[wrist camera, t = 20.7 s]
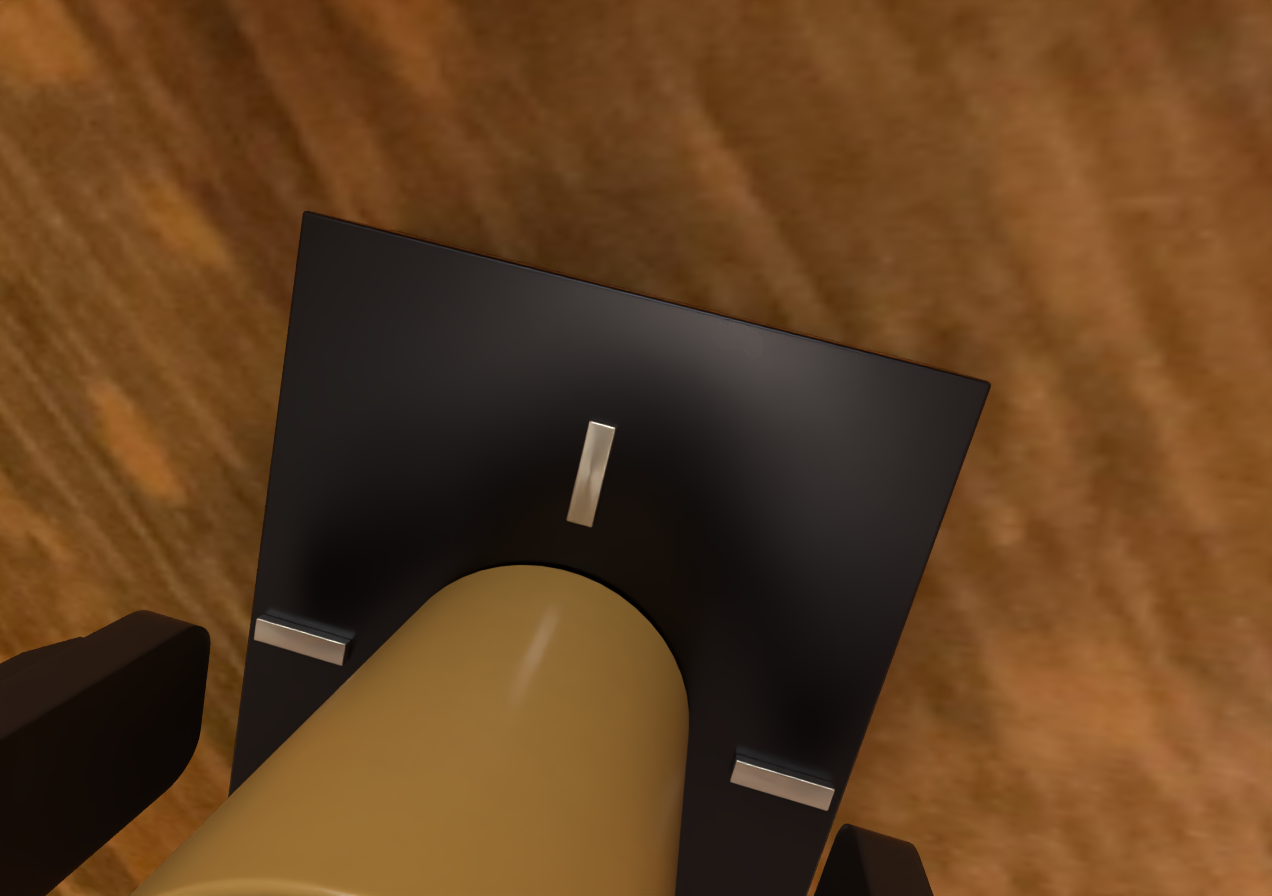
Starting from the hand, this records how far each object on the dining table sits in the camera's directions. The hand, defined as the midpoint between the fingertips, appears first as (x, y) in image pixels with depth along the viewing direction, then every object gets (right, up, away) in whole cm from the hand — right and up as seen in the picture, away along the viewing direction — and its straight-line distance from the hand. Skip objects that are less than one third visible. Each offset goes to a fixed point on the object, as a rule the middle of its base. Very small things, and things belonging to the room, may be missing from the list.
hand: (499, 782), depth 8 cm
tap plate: (+1, +1, +4) cm, 4 cm away
